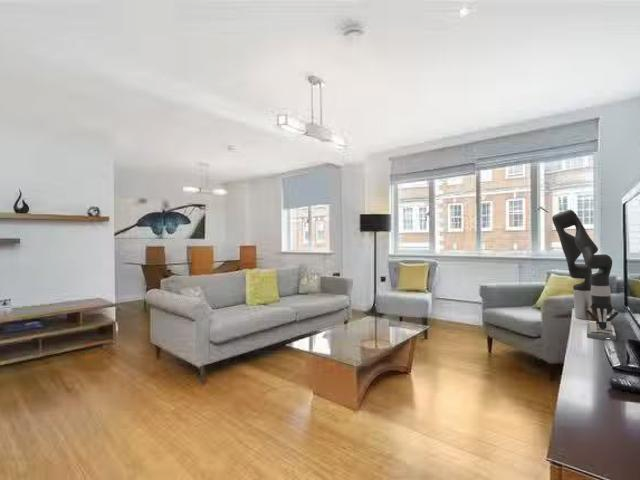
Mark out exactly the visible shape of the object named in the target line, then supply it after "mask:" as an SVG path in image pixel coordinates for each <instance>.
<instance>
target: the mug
mask: <svg viewBox="0 0 640 480" xmlns="http://www.w3.org/2000/svg"><path fill="white" fill-rule="evenodd" d="M590 308H591V306H590ZM592 313H593V314H594V315H595V316H596V317H597V318H598V314H596V313H595V312H594V311H593V310H592ZM601 318H602V322H603V315H601ZM589 320H590V321H596V324H599V321H597V320H594V319H593V318H592V317H591V316H590V319H589ZM590 321H589V322H590Z"/></svg>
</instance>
